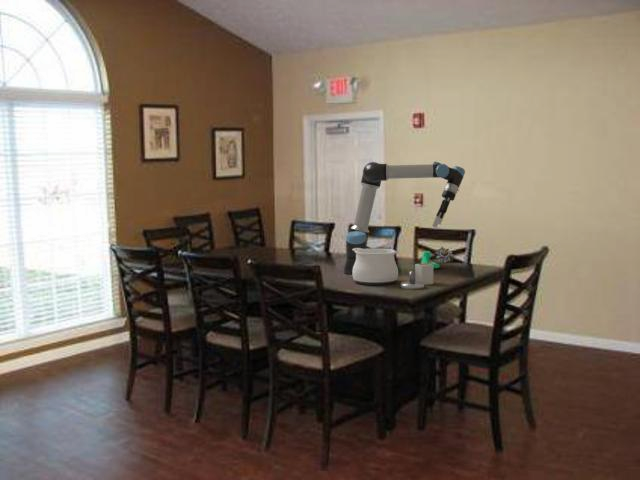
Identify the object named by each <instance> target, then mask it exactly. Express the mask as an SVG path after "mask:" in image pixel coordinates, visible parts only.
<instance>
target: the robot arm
mask: <svg viewBox="0 0 640 480" xmlns="http://www.w3.org/2000/svg"><path fill="white" fill-rule="evenodd" d="M465 174H466V170H465V169H464V168H463V167H461V166H458V165H454V166H453V167H450V166H448V165H447V164H445V163H440V162H438V161H433V162H432V163H431V164H398V165H397V164H396V165H395V164H393V165H389V164H387V163H380V162H379V163H378V162H377V161H372V162H368V163H367V164H366V165H365V166H364V167H363V170H362V177H361V180H360V184H361V186H362V187H361V192H360V197H359V200H358V205H357V210H356V212H355V213H356V214H355V218H354V222H353V225H352V226H351V227H350V229H349V232H347V233H346V235H345V244H346V245H345V246H346V248H345V249H346V250H345V252H346V253H345V254H346V255H345V257H346V260H345V263H344V266H343V273H344V274H347V275H353V274H352V271H353V266H354V264H355V261H356V253H355V251H356V250H355V251H353V250H352V249H354V248H361V249H367V245H368V241H369V237H370V230H369V225H370V220H371V217H372V211H373V208H374V203H375V199H376V195H377V191H378V190H377V189H379V188H380V187H381V183H382V182H384V181H385V182H386V181H388V180H391V179H392V180H393V179H396V180H397V179H425V178H426V179H429V178H431V179H432V178H433V179H434V178H437V179H438V178H441V179H444V180H445V181H447V182H446V184H445V187H444V189H443V192H442V193H441V197H443V198H444V199H443V200H442V201H441V204H440V206H439V209H438V211H437V213H436V216H435V218H434V221H433V224H432V227H433V228H436V229H437V227H438V226H439V225H440V226H441V224H442V222H443V219H444V218H445V215H446V213H447V211H448V208H449V206H450V204H451V201H452V202H453V201H454V200H455V198H456V196H457V193H458V192H460V189H459V188H460V187H461V184H462V181H463V179H464V176H465Z"/></svg>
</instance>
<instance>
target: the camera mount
mask: <svg viewBox="0 0 640 480" xmlns="http://www.w3.org/2000/svg"><path fill="white" fill-rule="evenodd" d="M422 253H423V254H422V258H421V262H420V264H422V263H430V264H431V265H433V269H438V268H440V264H438V263H435V262H432V261H431V262H430V259H432V257H431V255H432V253H431V251H430V250H427V251H423V252H422Z"/></svg>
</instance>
